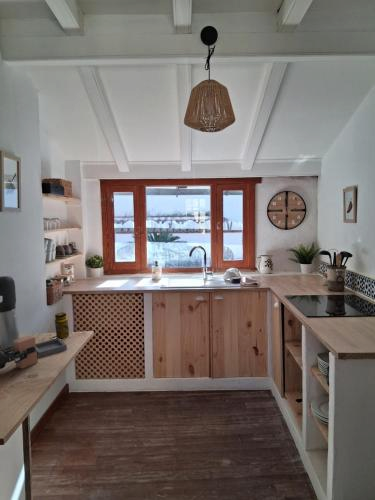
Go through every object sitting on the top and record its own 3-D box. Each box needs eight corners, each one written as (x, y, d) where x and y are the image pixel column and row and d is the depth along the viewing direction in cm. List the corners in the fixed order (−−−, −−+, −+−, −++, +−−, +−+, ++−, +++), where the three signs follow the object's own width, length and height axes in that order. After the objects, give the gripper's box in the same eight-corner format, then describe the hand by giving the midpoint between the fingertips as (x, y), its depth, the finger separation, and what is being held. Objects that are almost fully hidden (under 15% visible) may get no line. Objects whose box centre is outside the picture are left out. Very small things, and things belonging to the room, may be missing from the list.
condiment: (72, 336, 184) (70, 313, 182) (56, 341, 178) (53, 317, 176) (65, 333, 189) (63, 310, 187) (49, 338, 183) (47, 315, 182)
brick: (16, 366, 152) (13, 340, 151) (32, 360, 158) (29, 335, 156) (21, 368, 149) (18, 342, 148) (37, 362, 155) (34, 337, 153)
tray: (32, 349, 170) (32, 344, 170) (58, 342, 177) (58, 337, 177) (39, 357, 160) (38, 352, 160) (66, 349, 167) (66, 345, 167)
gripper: (-4, 357, 137) (39, 342, 150) (-20, 349, 146) (22, 335, 159) (-1, 376, 138) (41, 360, 151) (-18, 367, 147) (24, 352, 160)
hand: (31, 347), depth 155 cm, fingers closed on brick, 4 cm apart
